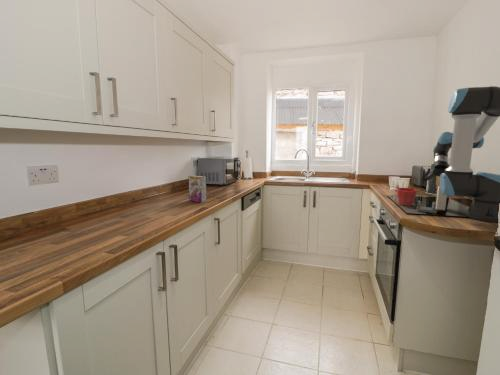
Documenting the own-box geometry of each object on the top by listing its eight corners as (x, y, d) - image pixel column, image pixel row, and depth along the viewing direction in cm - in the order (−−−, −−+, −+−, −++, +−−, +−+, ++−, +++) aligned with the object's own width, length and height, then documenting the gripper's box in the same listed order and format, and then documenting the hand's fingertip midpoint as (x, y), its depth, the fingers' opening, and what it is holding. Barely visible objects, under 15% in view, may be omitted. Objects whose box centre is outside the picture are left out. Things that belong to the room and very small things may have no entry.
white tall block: (443, 208, 159) (446, 186, 157) (445, 210, 154) (447, 187, 152) (435, 207, 161) (437, 185, 159) (436, 209, 156) (439, 187, 154)
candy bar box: (188, 200, 175) (187, 175, 173) (194, 199, 179) (193, 175, 177) (201, 203, 169) (200, 177, 167) (206, 201, 173) (206, 176, 171)
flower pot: (419, 206, 163) (421, 190, 161) (401, 206, 163) (402, 190, 162) (409, 202, 174) (411, 187, 172) (392, 202, 174) (393, 187, 172)
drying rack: (434, 210, 153) (435, 201, 152) (436, 213, 146) (437, 204, 146) (416, 208, 157) (417, 200, 156) (416, 211, 151) (417, 202, 150)
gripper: (464, 169, 166) (465, 196, 156) (416, 167, 178) (415, 192, 168) (467, 160, 161) (469, 189, 150) (418, 159, 173) (417, 185, 162)
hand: (440, 191), depth 159 cm, fingers open, 13 cm apart
